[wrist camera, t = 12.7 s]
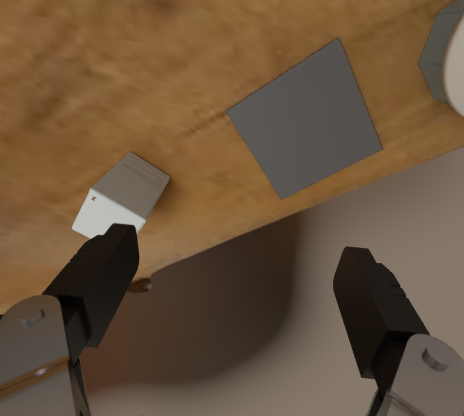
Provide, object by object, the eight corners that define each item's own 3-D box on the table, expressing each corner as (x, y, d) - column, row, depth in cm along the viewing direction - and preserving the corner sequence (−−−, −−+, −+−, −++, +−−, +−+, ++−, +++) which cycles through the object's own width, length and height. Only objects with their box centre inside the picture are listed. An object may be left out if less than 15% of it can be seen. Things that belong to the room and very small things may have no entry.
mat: (226, 110, 39) (226, 111, 38) (337, 37, 34) (338, 37, 33) (280, 198, 45) (281, 199, 45) (381, 147, 40) (382, 149, 40)
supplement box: (111, 184, 46) (67, 228, 35) (131, 149, 43) (89, 186, 32) (151, 208, 48) (121, 257, 37) (172, 177, 45) (146, 220, 34)
